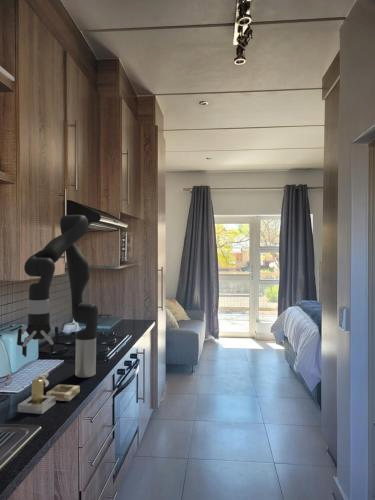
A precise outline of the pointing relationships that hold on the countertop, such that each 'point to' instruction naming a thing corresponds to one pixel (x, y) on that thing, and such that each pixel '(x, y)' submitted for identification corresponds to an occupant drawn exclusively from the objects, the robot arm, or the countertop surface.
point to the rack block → (64, 392)
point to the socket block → (36, 405)
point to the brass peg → (37, 391)
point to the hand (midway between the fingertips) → (38, 355)
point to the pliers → (44, 378)
